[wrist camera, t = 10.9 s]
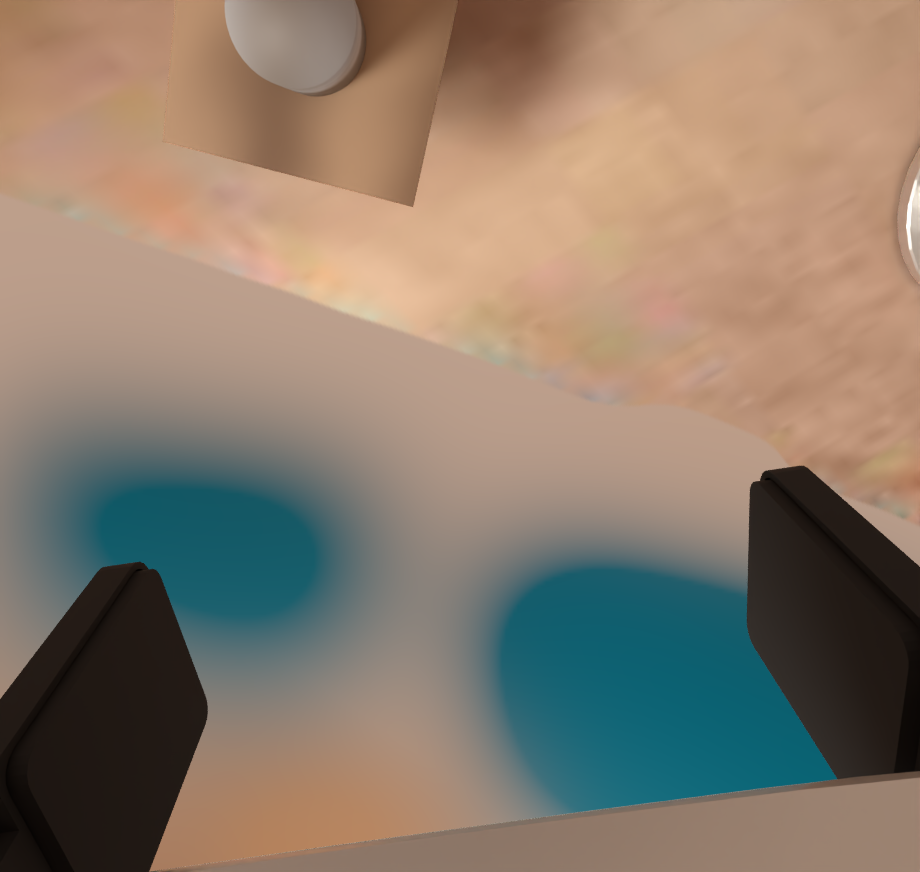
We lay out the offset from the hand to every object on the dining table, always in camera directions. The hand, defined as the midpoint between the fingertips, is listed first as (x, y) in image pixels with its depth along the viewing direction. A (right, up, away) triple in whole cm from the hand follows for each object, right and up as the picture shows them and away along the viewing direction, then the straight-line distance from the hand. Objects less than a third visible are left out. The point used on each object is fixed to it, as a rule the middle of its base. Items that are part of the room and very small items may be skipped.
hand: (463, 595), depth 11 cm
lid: (-6, +18, +16) cm, 25 cm away
